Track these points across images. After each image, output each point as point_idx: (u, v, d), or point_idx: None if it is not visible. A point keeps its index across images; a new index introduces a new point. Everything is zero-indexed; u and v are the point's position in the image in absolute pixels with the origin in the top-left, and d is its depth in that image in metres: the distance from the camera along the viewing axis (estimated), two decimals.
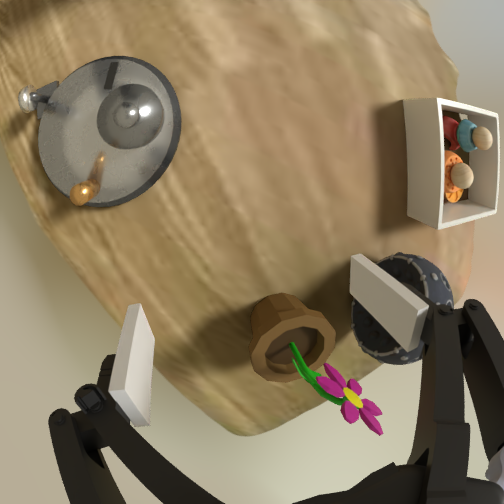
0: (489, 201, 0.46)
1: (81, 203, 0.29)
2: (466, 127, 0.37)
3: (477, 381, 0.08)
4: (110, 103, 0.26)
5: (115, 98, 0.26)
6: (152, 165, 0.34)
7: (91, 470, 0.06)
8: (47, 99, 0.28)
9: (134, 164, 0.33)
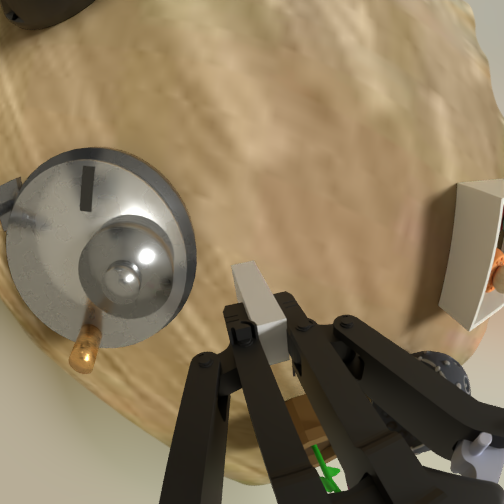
0: None
1: (86, 372, 0.22)
2: None
3: (388, 399, 0.09)
4: (93, 256, 0.19)
5: (99, 250, 0.19)
6: (164, 314, 0.27)
7: (213, 421, 0.08)
8: (9, 208, 0.21)
9: None
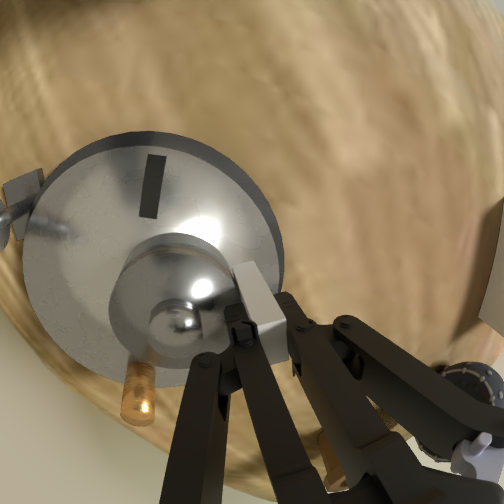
0: None
1: (143, 424, 0.17)
2: None
3: (388, 399, 0.09)
4: (132, 294, 0.14)
5: (141, 285, 0.14)
6: None
7: (214, 421, 0.08)
8: (26, 209, 0.16)
9: None
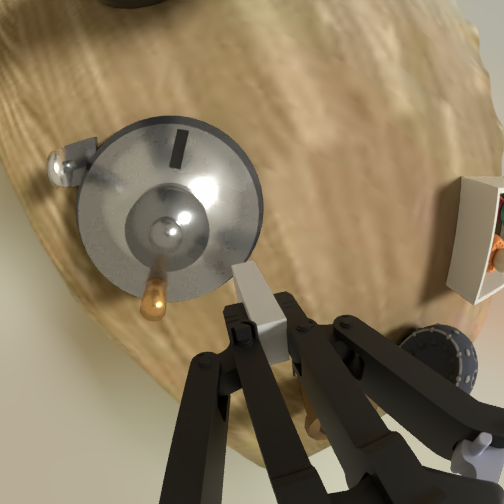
0: None
1: (156, 319, 0.27)
2: None
3: (388, 399, 0.09)
4: (141, 213, 0.24)
5: (147, 207, 0.24)
6: None
7: (214, 421, 0.08)
8: (84, 163, 0.26)
9: (210, 264, 0.32)
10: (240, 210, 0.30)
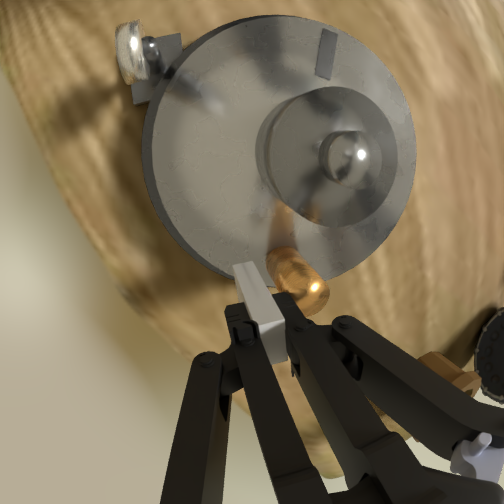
0: None
1: (311, 312, 0.16)
2: None
3: (387, 399, 0.09)
4: (305, 119, 0.13)
5: (315, 111, 0.13)
6: (385, 227, 0.21)
7: (215, 421, 0.08)
8: (162, 65, 0.15)
9: (362, 224, 0.21)
10: (399, 148, 0.19)
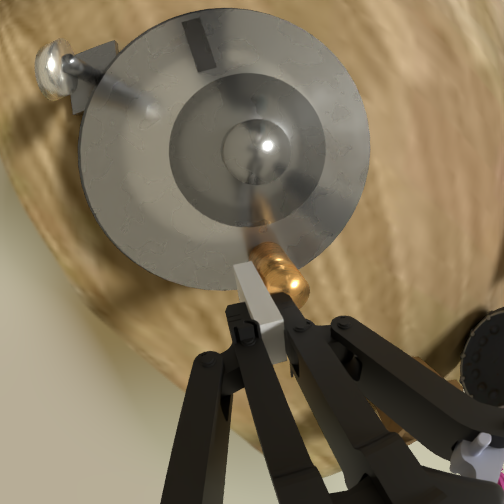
0: None
1: (298, 305, 0.16)
2: None
3: (387, 400, 0.09)
4: (191, 140, 0.12)
5: (197, 125, 0.12)
6: (358, 175, 0.19)
7: (216, 421, 0.08)
8: (95, 75, 0.14)
9: (330, 185, 0.19)
10: (331, 89, 0.16)
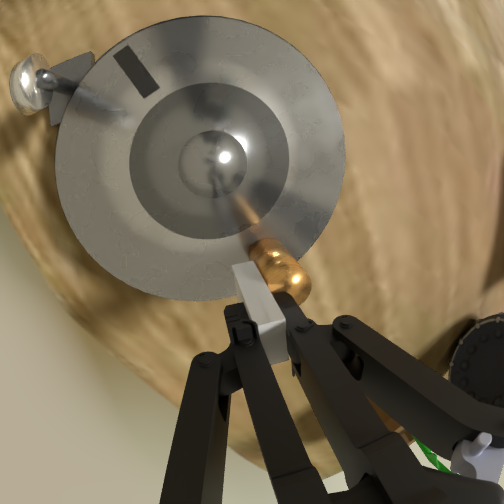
0: None
1: (304, 296, 0.16)
2: None
3: (388, 399, 0.09)
4: (150, 170, 0.13)
5: (150, 154, 0.12)
6: (335, 147, 0.18)
7: (214, 421, 0.08)
8: (71, 87, 0.14)
9: (309, 166, 0.18)
10: (281, 69, 0.15)
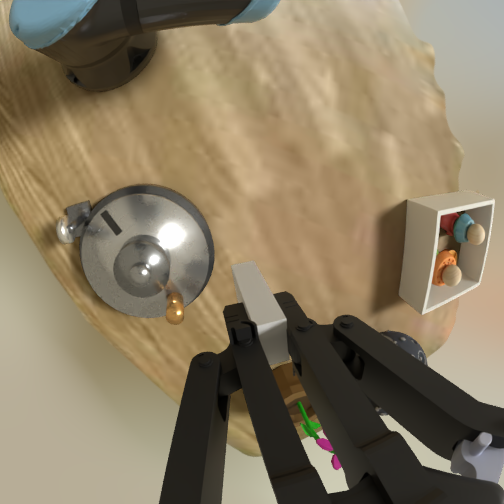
0: (474, 274, 0.56)
1: (181, 320, 0.39)
2: (463, 225, 0.48)
3: (388, 399, 0.09)
4: (120, 274, 0.36)
5: (120, 269, 0.35)
6: (202, 252, 0.41)
7: (213, 421, 0.08)
8: (82, 221, 0.37)
9: (190, 261, 0.41)
10: (173, 219, 0.38)
